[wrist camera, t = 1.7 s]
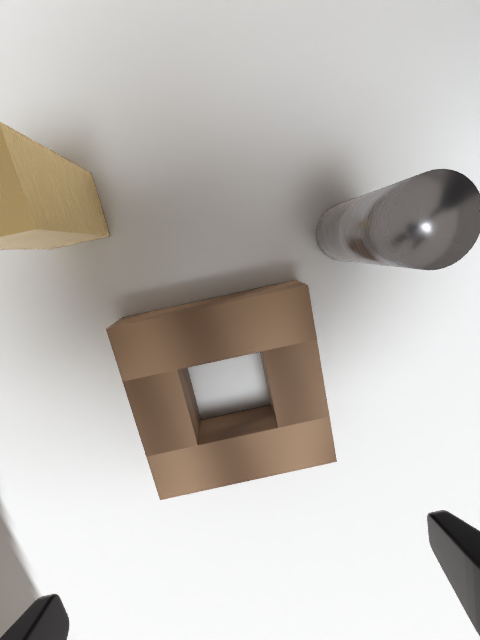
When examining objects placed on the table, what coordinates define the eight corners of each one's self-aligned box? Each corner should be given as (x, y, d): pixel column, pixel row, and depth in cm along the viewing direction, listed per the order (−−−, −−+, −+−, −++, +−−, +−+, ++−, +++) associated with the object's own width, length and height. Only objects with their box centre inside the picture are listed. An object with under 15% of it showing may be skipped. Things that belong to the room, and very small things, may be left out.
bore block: (296, 279, 18) (307, 285, 16) (322, 435, 20) (336, 461, 18) (122, 317, 18) (106, 329, 16) (168, 468, 20) (160, 499, 18)
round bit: (366, 198, 18) (481, 159, 10) (372, 254, 18) (485, 259, 10) (312, 210, 18) (383, 180, 10) (320, 265, 18) (393, 279, 10)
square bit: (91, 173, 17) (-1, 121, 10) (110, 236, 17) (36, 229, 10) (30, 186, 17) (-105, 143, 10) (51, 249, 17) (-61, 250, 10)
